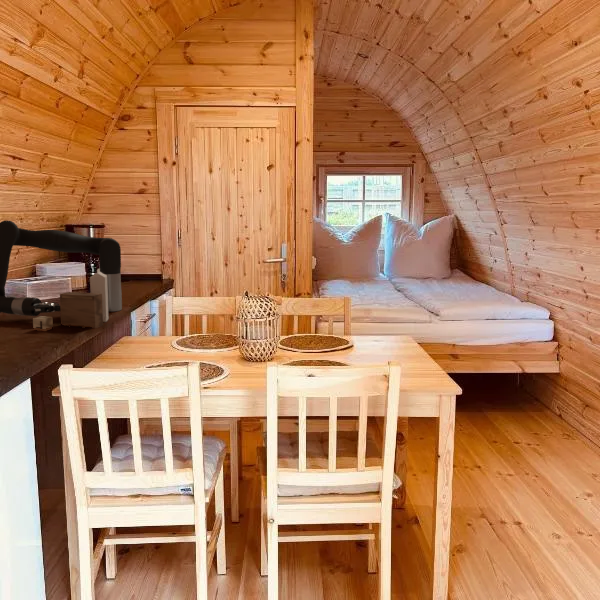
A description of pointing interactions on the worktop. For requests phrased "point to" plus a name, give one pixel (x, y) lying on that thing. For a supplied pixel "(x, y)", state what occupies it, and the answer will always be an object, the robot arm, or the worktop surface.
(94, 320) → the walnut panel
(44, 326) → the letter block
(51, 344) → the worktop surface
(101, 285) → the milk
